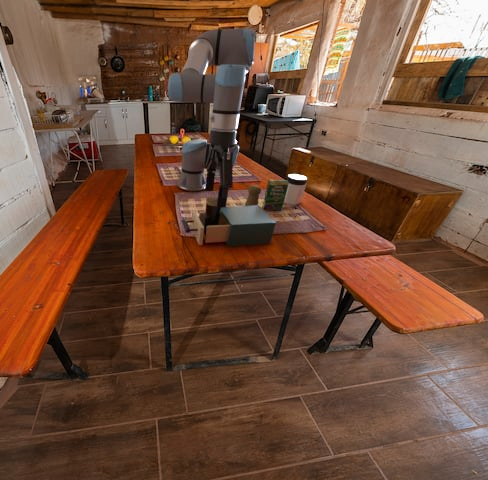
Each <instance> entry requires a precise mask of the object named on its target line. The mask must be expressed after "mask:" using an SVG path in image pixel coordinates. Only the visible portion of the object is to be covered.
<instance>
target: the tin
mask: <svg viewBox="0 0 488 480" xmlns="http://www.w3.org/2000/svg"><path fill="white" fill-rule="evenodd" d="M217 200H218V196H217V197H216V196H210V197H207V198H206V202H205V211H204V212H205V219H204V234H205V235H206V228H207V226H215V225H219V220H220V213H221V208H217Z"/></svg>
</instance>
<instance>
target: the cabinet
mask: <svg viewBox="0 0 488 480" xmlns="http://www.w3.org/2000/svg"><path fill="white" fill-rule="evenodd" d="M221 213H222V214H223V216H224V217H225V219H226V220H227V221H228V223H229V224H230V232H229V237H228V242H224V243H225V244H226V246H227V247H240V246H241V247H244V246H259V245H270V244H271V242H272V239H273V235H274V231H275V228H276V224H277V222H276V220H274V219H273V218H272V216H270V215H269V214H268V213H267V212H266V211H265V209H263V207H261V206H260V205H259V204H258V205H256V206H245V205H236V206H235V205H234V206H233V205H232V206H226V207H221Z"/></svg>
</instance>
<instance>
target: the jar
mask: <svg viewBox="0 0 488 480" xmlns="http://www.w3.org/2000/svg"><path fill="white" fill-rule="evenodd" d="M286 180H287V181H288V182H289V184H288V188H287V192H286V196H285V200H284V203H283V204H285V205H286V204H287V205H291V206H296V205H299V204H301V202H302V199H303V196H304V193H305V191H306V187H307V182H308V177H307V176H305V175H302V174H298V173H290V174H288V175H287V178H286Z"/></svg>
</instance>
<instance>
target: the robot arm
mask: <svg viewBox="0 0 488 480" xmlns="http://www.w3.org/2000/svg"><path fill="white" fill-rule="evenodd" d="M255 33H256V32H255V31H254V30H253V29H250V28H214V29H209V30H207V31H205V32H203V33H201V34H200V35H198V36H197V37H196V38H194V40H193V41H192V43H191V44H190V45H189V48H188V53H187V54H188V55H187V59H186V60H185V63H184V66H183V67H182V70H181V72H176V73H175V72H174V73H171V74H170V75H169V77H168V83H167V94H168V95H167V96H168V98H169V100H170V101H172V102H179V103H199V104H201V103H204V104H212V111H211V116H210V117H209V120H210V121H211V123H210V128H211V129H210V131H209V139H208V140H207V139H202V138H200V139H198V138H197V139H190V140H186V141H185V142H184V143H183V144H182V149H181V150H182V151H181V170H180V168H178V166H175V167H174V170H177V171H178V172H179V177H178V180H177V184H176V185H177V186H176V187H177V188H178V189H179V190H181V191H184V192H189V193H191V192H192V193H198V192H202V191H205V192H213V191H214V187H215V178H216V175H215V172H216V169H219V174H220V175H219V183H220V185H219V186H218V194H217V198H218V200H217V208H221V207H227V201H228V195H229V190H230V189H233V187H234V183H233V182H234V180H233V179H234V178H233V175H234V174H233V170H234V167H235V165H236V162H237V158H238V154H239V150H240V146H239V145H238V144H237V143H238V141H237V140H236V139H237V129H238V127H239V121H240V113H241V106H242V105H241V104H242V99H243V93H244V88H245V82H246V74H248V73H249V69H250V68H251V67H253V65H254V58H255V44H256V35H255ZM209 66H212V67H213V66H214V67H216V66H217V68H216V73H211V74H210V73H206V71H207V68H208V67H209ZM205 169H206V175H205Z"/></svg>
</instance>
